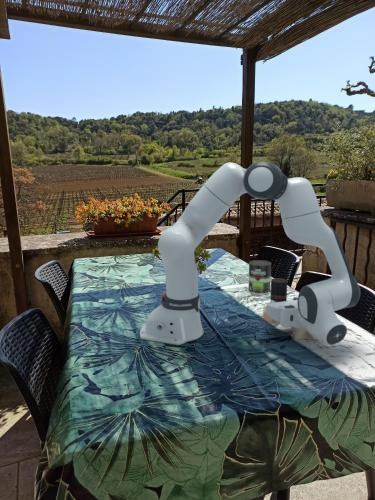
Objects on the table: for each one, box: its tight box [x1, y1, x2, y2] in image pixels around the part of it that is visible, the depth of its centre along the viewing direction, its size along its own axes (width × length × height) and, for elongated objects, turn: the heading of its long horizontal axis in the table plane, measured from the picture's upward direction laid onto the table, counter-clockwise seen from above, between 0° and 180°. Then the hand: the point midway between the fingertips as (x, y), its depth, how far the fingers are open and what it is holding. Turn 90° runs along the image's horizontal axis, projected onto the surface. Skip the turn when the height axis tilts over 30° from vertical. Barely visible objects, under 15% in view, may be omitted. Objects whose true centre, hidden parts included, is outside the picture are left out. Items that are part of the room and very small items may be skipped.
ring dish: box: [262, 306, 280, 325], centre depth 131 cm, size 11×11×3 cm
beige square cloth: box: [290, 327, 316, 340], centre depth 119 cm, size 12×12×1 cm
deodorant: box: [270, 277, 288, 302], centre depth 130 cm, size 6×6×15 cm
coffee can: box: [248, 259, 272, 296], centre depth 160 cm, size 10×10×14 cm
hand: (283, 300), depth 126 cm, fingers open, 8 cm apart
